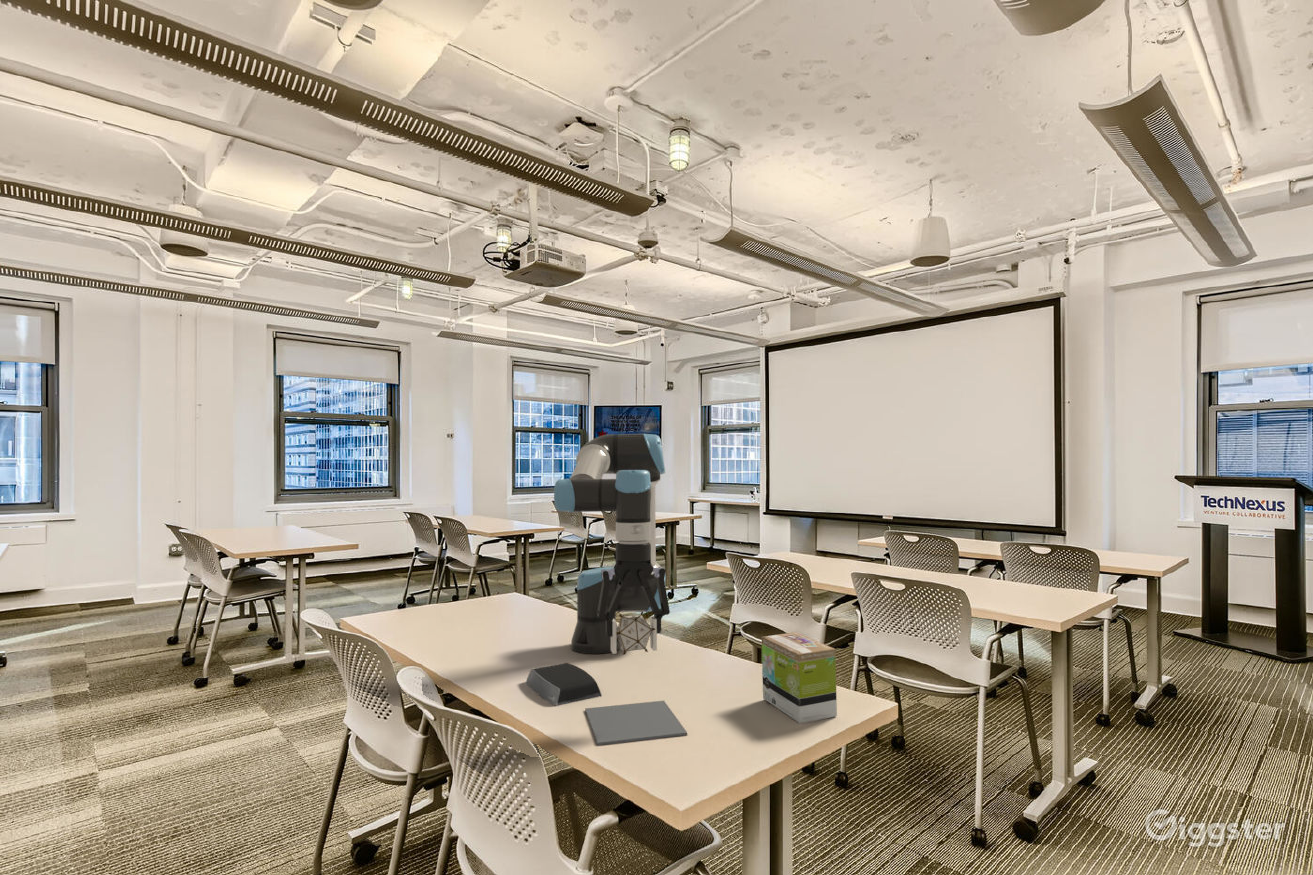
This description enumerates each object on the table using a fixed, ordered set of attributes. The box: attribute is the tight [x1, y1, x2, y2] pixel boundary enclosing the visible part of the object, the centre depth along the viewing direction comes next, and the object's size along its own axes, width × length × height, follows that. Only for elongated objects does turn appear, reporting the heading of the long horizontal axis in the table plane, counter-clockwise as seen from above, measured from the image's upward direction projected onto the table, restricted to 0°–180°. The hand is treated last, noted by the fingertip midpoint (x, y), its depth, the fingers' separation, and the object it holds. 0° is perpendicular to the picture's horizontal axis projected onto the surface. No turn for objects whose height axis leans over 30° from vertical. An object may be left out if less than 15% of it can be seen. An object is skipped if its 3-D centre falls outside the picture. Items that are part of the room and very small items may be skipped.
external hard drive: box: [525, 662, 602, 707], centre depth 150 cm, size 13×19×4 cm
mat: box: [584, 700, 688, 746], centre depth 129 cm, size 18×18×1 cm
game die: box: [616, 611, 655, 656], centre depth 130 cm, size 9×8×10 cm
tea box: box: [761, 631, 838, 724], centre depth 137 cm, size 15×10×15 cm, turn 22°
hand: (633, 650), depth 130 cm, fingers closed on game die, 8 cm apart
